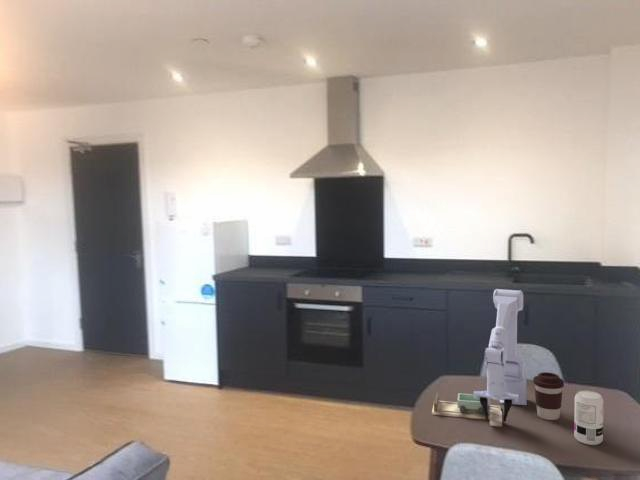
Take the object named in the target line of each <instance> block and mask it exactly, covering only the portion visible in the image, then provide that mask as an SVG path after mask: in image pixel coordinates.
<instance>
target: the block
mask: <svg viewBox="0 0 640 480" xmlns="http://www.w3.org/2000/svg"><path fill="white" fill-rule="evenodd" d="M489 426H490V427H491V426H493V427H503V411H502V410H501V411H498V410H490V420H489Z"/></svg>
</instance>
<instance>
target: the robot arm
mask: <svg viewBox="0 0 640 480" xmlns="http://www.w3.org/2000/svg"><path fill="white" fill-rule="evenodd" d="M492 301H493V304H494V308H495V309H496V310H497V311H496V319H495V321H496V322H495V327H493V328H492V329H491V333H490V336H489V337H490V338H489V342H488V347H485V350H484V362H485V368H486V390H480V391H479V390H477V391H476V390H474V391H473V394H474V398H476V399H477V398H480V403H481V405H482V407H483V410H484V412H485V416H486V419H485V420H486V421H488V411H487V399H490V400H493V401H494V400H495V401H499V403H500V404H503V422H506V421H507V418H508V414H509V411H510V409H511V408H512V406H513V405H515V406H516V405H517V406H527V399H528V393H527V380H526V378H525V375H526V363H525V358H523V356H521V355H520V354H519V353H518V313H519V312H520V311H523V308H524V292H523V291H522V290H521V289H520V290H514V289H500V288H496V289H494V291H493V295H492Z"/></svg>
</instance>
